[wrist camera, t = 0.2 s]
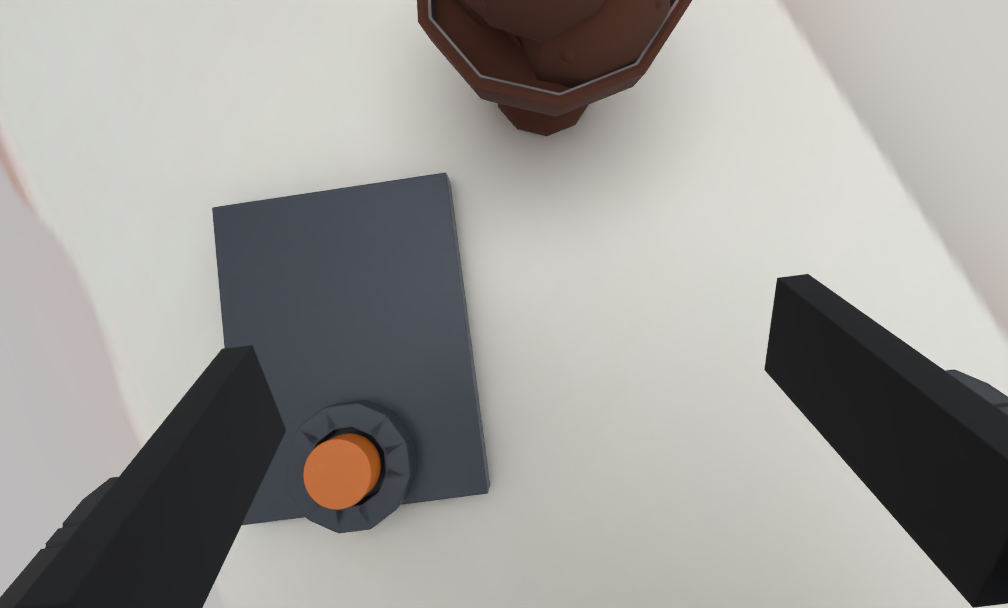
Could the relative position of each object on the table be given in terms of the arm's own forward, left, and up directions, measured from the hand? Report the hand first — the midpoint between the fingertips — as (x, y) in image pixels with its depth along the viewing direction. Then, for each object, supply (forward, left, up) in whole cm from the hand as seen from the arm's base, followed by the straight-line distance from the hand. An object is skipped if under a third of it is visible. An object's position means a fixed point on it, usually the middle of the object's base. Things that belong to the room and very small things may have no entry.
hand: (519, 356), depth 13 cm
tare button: (-4, +9, -13) cm, 16 cm away
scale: (+2, +9, -15) cm, 18 cm away
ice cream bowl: (+15, -3, -15) cm, 22 cm away
